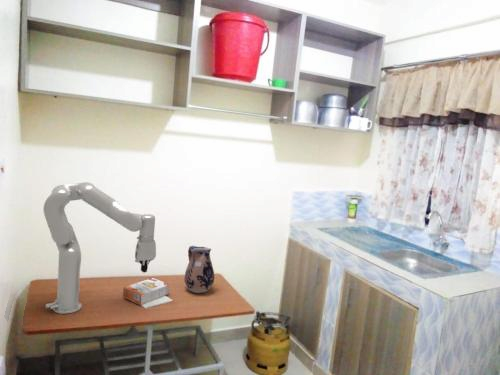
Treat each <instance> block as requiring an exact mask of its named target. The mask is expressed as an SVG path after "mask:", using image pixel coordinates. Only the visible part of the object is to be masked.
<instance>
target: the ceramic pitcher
mask: <svg viewBox="0 0 500 375" xmlns="http://www.w3.org/2000/svg"><path fill="white" fill-rule="evenodd" d="M211 251H212V248H210V247H206V246H195V245H190V246H189V247H188V250H187V253H188V254H187V255H188V264H187V267H186V269H185V273H184V283H185V285H186V288H188V290H189V291H191V293H196V294H203V293H207V292H208V291H209V290H210V289H211V288H212V286H213V285H214V282H215V271H214V268H213V267H214V266H213V262H212V260H211Z"/></svg>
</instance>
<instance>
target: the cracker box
mask: <svg viewBox="0 0 500 375" xmlns="http://www.w3.org/2000/svg"><path fill="white" fill-rule="evenodd" d="M170 286H171V285H170V284H169V283H168V282H167V283H166V282H165V281H162V280H159V279H156V278H154V277H151V278H147V279H146V280H141V281H139V282H135V283H133V284H130V285H126V286H124V287H123V292H122V298H124V299H126V300H129V301H131V302H133V303H134V304H137V305H139V306H141V305H142V304H144V303H147V302H149V301H152V300H155V299H157V298H160V297H162V296H167V295H169V293H170Z"/></svg>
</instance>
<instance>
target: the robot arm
mask: <svg viewBox="0 0 500 375" xmlns="http://www.w3.org/2000/svg"><path fill="white" fill-rule="evenodd" d="M81 200H82V201H83V202H84V203H86V204H88V205H90V206H91V207H93V208H94V209H96V210H98V211H99V212H100V213H102V214H103V215H105V216H106V217H108V218H109V219H110V220H113V221H114V222H116V223H117V224H119V225H120V226H121V227H123V228H125V229H126V230H128V231H130V232H132V233H134V232H138V231H139V233H138V236H137V237H136V240H137V241H136V244H135V245H136V246H135V253H134V258H135V260H134V262H135V263H139V264H140V271H141V272H142V273H147V272H148V268H149V267H148V266H149V264H150V263H151V261H154V260H155V259H156V256H157V245H156V240H155V226H156V217H155V215H154V214H148V213H147V214H145V213H144V214H141V213H134V212H133V213H131V211H129V210H127V209H126V208H124V207H123V206H122V205H121V204H120V203H119V202H118V201H117V200H116V199H114V198H113V197H111V196H110V195H108V194H107V193H105V192H104V191H102V190H100V189H99V188H98V187H96V186H95V184H93V183H91V182H85V181H84V182H76V183H68V184H67V183H66V184H59V185H56V186H55V187H54V188H53V189H52V191H51V193H50V194H49V196H48V197H47V198H46V200H45V201H44V204H43V210H42V211H43V214H44V215H43V216H44V217H45V221H46V225H47V227H48V229H49V233H50V235H51V239H52V241H53V242H54V243H55V244H56V247H57V250H58V266H57V267H58V268H57V269H58V270H57V271H58V272H57V273H58V274H57V295H56V299H54V301H53V302H51V303H50V302H49V303H46V304H45V309H50V310H53V312H54V313H57V314H60V315H61V314H62V315H64V314H73V313H76V312H78V311H79V310H81V309H82V305H83V304H82V302H80V301H79V298H80V296H79V295H80V279H81V278H80V277H81V263H82V252H81V247H80V244H79V241H78V239H77V236H76V233H75V230H74V227H73V225H72V224H71V223H70V222H69V219H68V217H67V214H66V211H65V209H66V206H67V205H68V204H70V202H72V201H81Z"/></svg>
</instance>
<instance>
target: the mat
mask: <svg viewBox="0 0 500 375" xmlns="http://www.w3.org/2000/svg"><path fill="white" fill-rule="evenodd" d="M172 302H173V299H171V298H170V297H168V296H167V295H165V296H162V297H160V298H157V299H155V300H152V301H149V302H147V303H144V304H142V305H140V306H141V307H142V308H143V309H146V310H147V309H149V308H154V307H156V306H159V305H160V306H161V305H164V304H168V303H172Z"/></svg>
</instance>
